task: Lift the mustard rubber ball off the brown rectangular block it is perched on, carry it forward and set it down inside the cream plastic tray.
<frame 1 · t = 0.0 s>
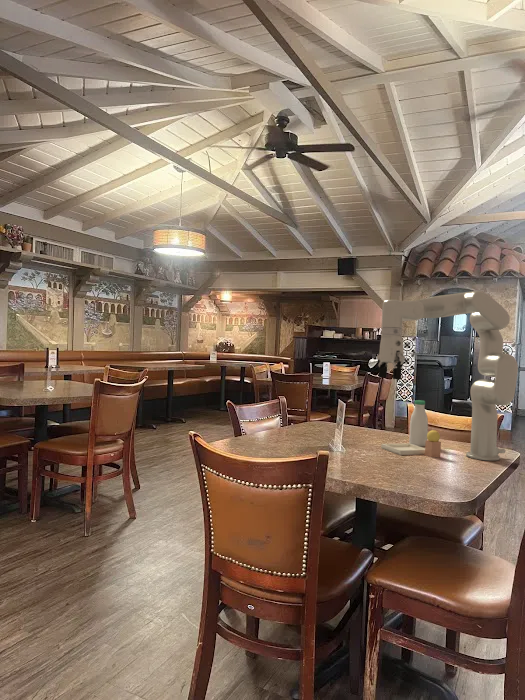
hand: (389, 378, 193), 31 cm above the table, fingers open, 9 cm apart
brown rectangular block: (432, 456, 206), on the table
tray: (404, 451, 214), on the table
milk bottle: (417, 445, 230), on the table
ball: (433, 442, 206), point 5 cm above the table, touching brown rectangular block
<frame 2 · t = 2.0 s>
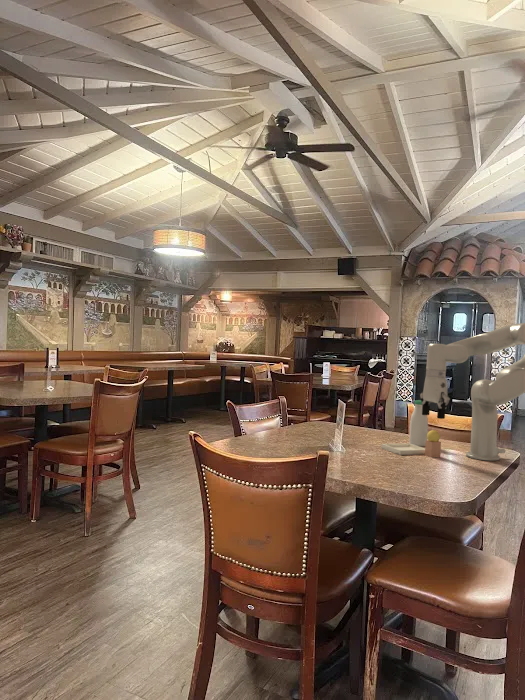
hand: (433, 416, 206), 16 cm above the table, fingers open, 9 cm apart
nothing on the table moved.
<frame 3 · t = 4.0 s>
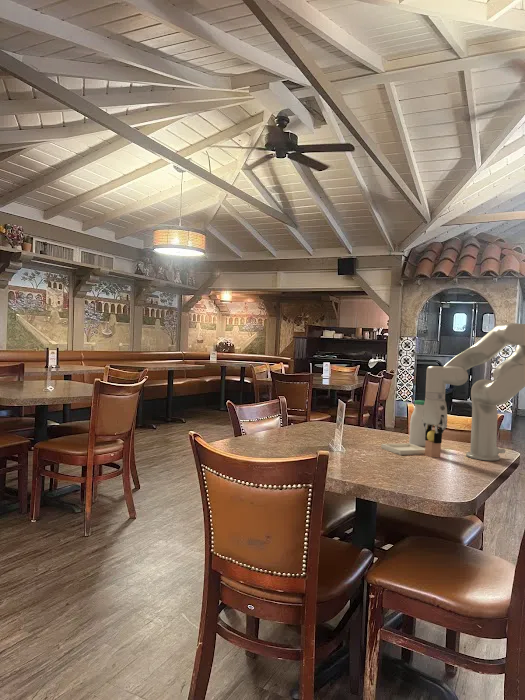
hand: (433, 441, 206), 6 cm above the table, fingers closed on ball, 4 cm apart
ball: (433, 442, 206), point 5 cm above the table, touching brown rectangular block, gripper
everything else where it was.
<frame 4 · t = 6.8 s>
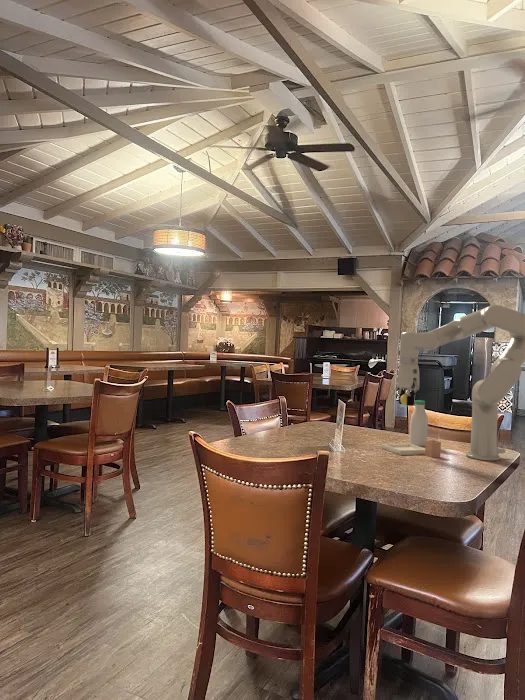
hand: (406, 404, 214), 20 cm above the table, fingers closed on ball, 4 cm apart
ball: (406, 405, 214), point 19 cm above the table, touching gripper
everything else where it was.
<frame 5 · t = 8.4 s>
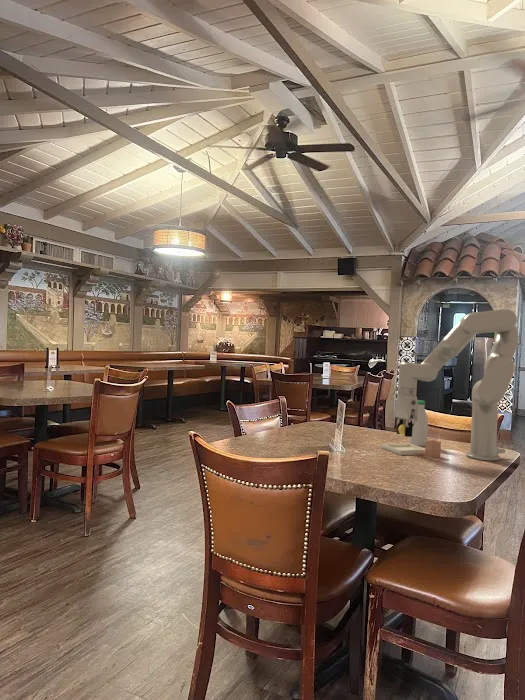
hand: (404, 434, 214), 7 cm above the table, fingers closed on ball, 4 cm apart
ball: (404, 435, 214), point 6 cm above the table, touching gripper
everything else where it was.
when the fingers open (3 cm above the table, at t = 9.9 s): ball drops 2 cm, resting on tray.
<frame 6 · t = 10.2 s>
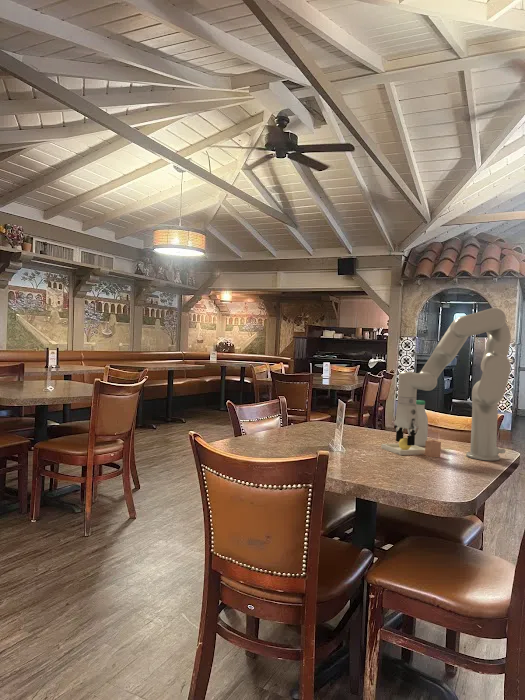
hand: (405, 443, 214), 3 cm above the table, fingers open, 7 cm apart
ball: (404, 449, 214), resting on tray
everything else where it was.
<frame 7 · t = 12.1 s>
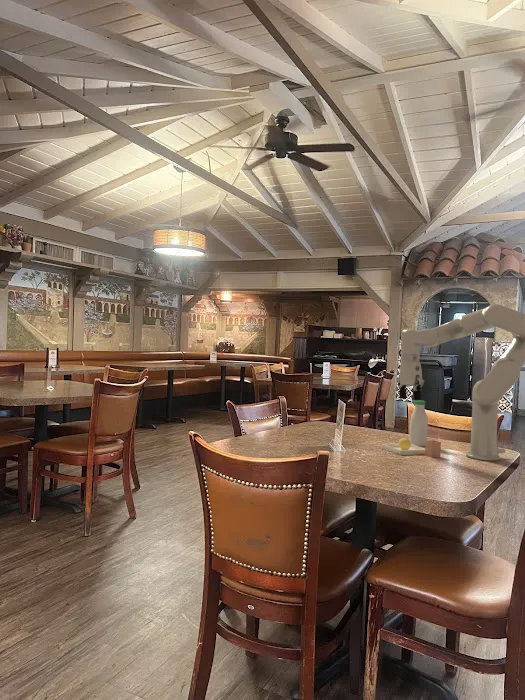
hand: (409, 399, 216), 22 cm above the table, fingers open, 9 cm apart
nothing on the table moved.
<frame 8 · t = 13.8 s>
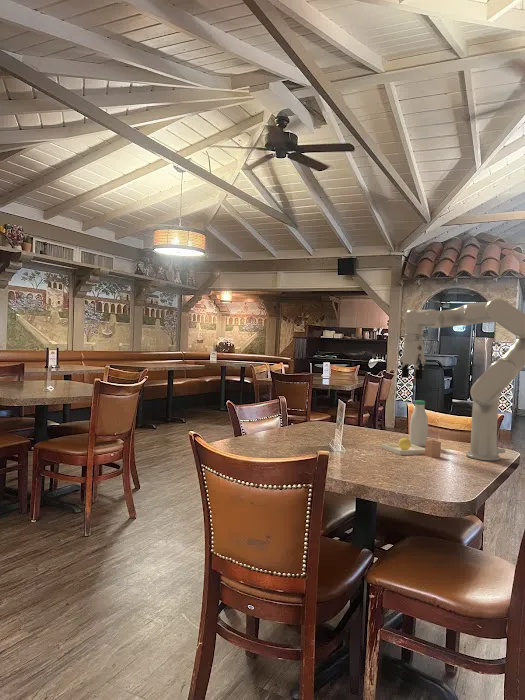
hand: (411, 378, 222), 30 cm above the table, fingers open, 9 cm apart
nothing on the table moved.
at the end: ball inside the target area on the tray (0.0 cm from its centre), point 0.5 cm above the tray's base; ball touching tray; the gripper is holding nothing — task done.
